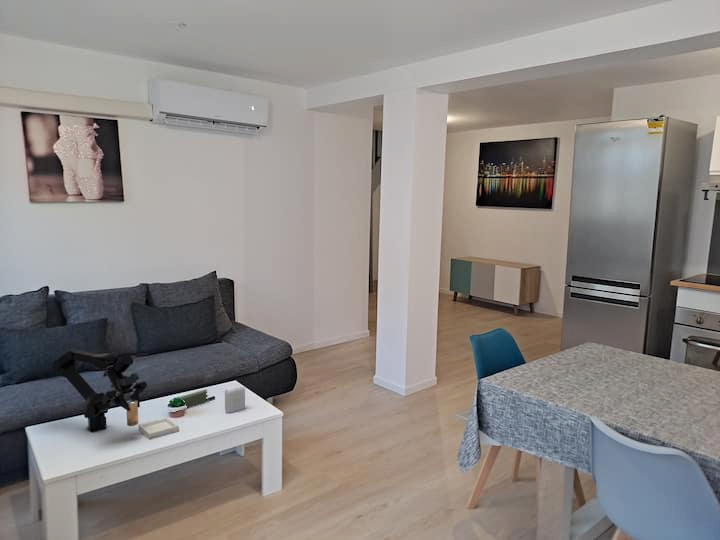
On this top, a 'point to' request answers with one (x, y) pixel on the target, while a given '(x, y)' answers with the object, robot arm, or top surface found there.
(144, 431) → the tray
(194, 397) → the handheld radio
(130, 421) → the battery cell
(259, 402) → the top surface
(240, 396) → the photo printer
